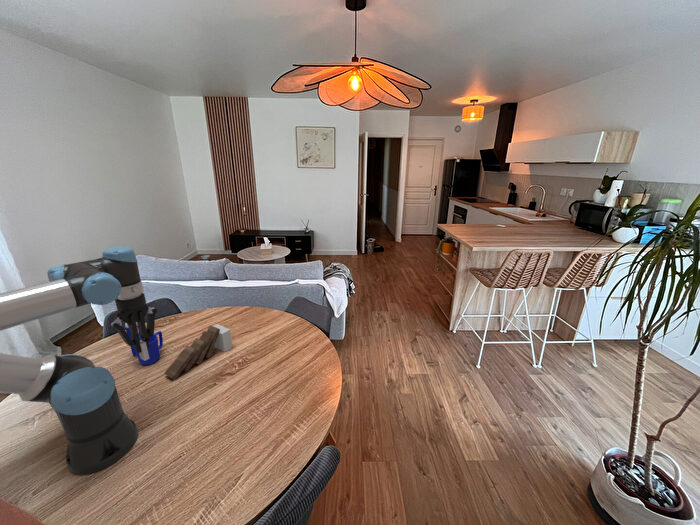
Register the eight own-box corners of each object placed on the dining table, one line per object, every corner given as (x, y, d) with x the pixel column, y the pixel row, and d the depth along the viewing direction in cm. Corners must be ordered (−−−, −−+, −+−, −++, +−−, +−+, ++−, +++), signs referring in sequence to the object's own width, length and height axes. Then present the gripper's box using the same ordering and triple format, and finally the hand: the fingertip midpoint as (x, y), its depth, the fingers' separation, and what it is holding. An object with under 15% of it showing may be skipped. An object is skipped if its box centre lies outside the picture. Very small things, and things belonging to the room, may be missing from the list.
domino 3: (192, 360, 115) (206, 331, 119) (200, 364, 113) (214, 335, 117) (188, 359, 114) (203, 330, 117) (196, 363, 111) (211, 334, 115)
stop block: (225, 352, 120) (222, 333, 118) (211, 345, 124) (208, 328, 122) (232, 347, 124) (230, 329, 121) (219, 341, 128) (216, 324, 125)
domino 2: (184, 370, 107) (204, 341, 113) (176, 366, 109) (196, 337, 115) (187, 371, 109) (207, 342, 114) (180, 367, 111) (199, 339, 116)
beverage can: (142, 357, 117) (133, 325, 112) (129, 357, 117) (120, 325, 112) (150, 349, 121) (143, 319, 117) (139, 349, 122) (130, 318, 117)
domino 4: (206, 357, 115) (216, 329, 117) (199, 354, 117) (208, 325, 119) (210, 357, 117) (220, 329, 119) (202, 354, 119) (212, 326, 121)
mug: (173, 349, 122) (168, 329, 119) (152, 368, 110) (146, 346, 107) (155, 348, 122) (150, 328, 119) (132, 366, 111) (126, 345, 108)
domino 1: (171, 378, 103) (194, 348, 109) (163, 373, 105) (187, 345, 112) (174, 379, 104) (197, 350, 111) (167, 375, 107) (190, 347, 113)
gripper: (110, 306, 82) (128, 373, 89) (157, 290, 93) (170, 351, 100) (98, 300, 85) (117, 365, 92) (145, 286, 96) (158, 345, 103)
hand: (144, 358), depth 96 cm, fingers closed
